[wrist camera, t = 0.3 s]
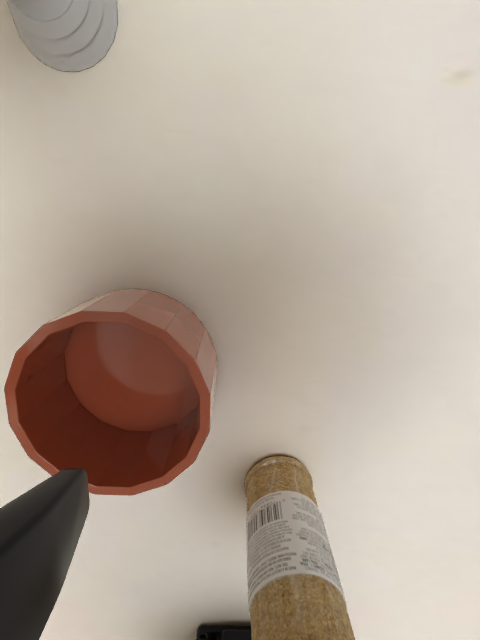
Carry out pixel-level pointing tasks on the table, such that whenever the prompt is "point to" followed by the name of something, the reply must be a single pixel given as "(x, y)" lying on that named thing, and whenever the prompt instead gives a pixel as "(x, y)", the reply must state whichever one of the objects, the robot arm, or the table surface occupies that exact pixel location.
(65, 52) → the chalice
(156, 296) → the cup
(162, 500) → the table surface
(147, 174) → the table surface
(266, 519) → the sprinkles bottle
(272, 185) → the table surface
